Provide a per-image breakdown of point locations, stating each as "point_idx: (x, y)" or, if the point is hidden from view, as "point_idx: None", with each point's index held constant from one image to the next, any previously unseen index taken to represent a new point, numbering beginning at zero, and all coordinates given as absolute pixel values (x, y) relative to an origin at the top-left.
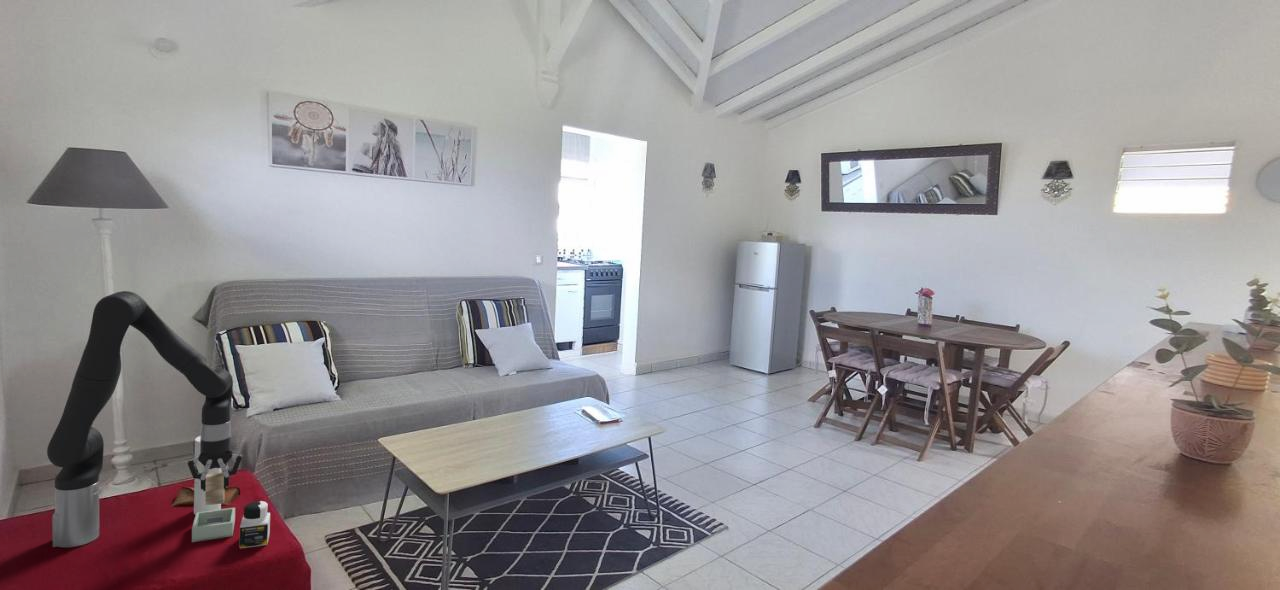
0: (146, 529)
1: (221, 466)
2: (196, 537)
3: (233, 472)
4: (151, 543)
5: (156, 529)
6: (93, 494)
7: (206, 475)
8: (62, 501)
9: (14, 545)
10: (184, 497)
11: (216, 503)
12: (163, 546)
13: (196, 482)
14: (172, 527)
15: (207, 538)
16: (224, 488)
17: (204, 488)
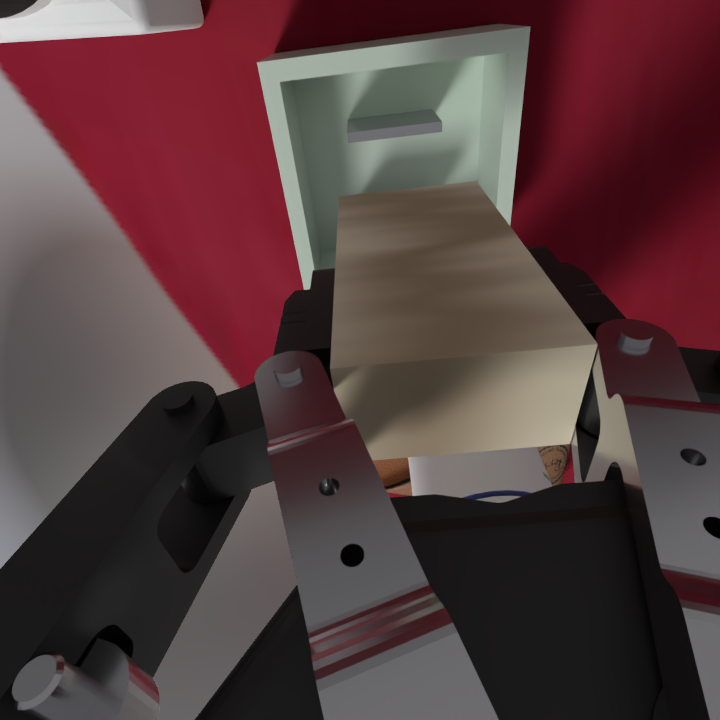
0: (694, 254)
1: (368, 518)
2: (479, 27)
3: (179, 407)
4: (705, 77)
5: (655, 245)
6: None
7: (577, 408)
8: None
9: None
10: (541, 458)
11: (392, 192)
12: (653, 8)
13: (547, 479)
14: (587, 249)
15: (413, 35)
16: (329, 269)
17: (542, 256)
